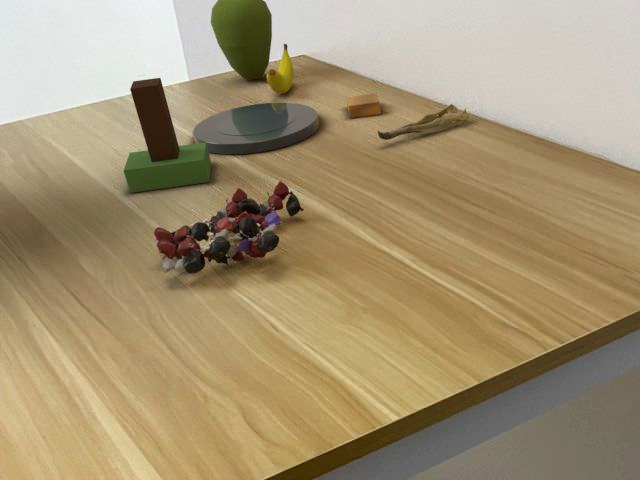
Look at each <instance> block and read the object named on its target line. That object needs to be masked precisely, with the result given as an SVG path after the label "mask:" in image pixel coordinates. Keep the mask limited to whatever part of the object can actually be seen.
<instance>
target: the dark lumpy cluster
mask: <svg viewBox="0 0 640 480" xmlns="http://www.w3.org/2000/svg"><path fill="white" fill-rule="evenodd" d="M266 194H267V197H266V198H264V199H263V200H262V201H261V203H258V202H257V201H256V200H254V199H252V198H248V194H247V193H246V191H244V190H243V189H242V188H240V187H238V188H236V191H235V192H234V193H233V194H232V196H231V201H228V198H225V199H224V201H225V202H226V203H225V205H224V206H222V207H221V209H220V210H217V212H216V215H212V216H211V217H210V218H207V217H205V218H204V220H203V221H197V222H195V223H191V224H190V225H187V224H184V225H182V226H180V228H178V229H176V230H174V231H173V232H172V231H169V230H168V229H166V228H164V227H161V226H157V227H155V228H154V231H153V235H154V237H155V240H156V241H157V243H156V248H157V250H158V256H159V259H161V260H162V266H161V269H162V272H163V273H165V274H167V273H169V272H170V271H171V270H172V269H175V271H177V272H181V273H187V274H198V273H200V272H202V271H203V270H204V269H205V267H206V259H207V261H208V263H212V261H214V262H215V263H216V264H224V265H227V266H229V262H232V261H233V262H239V263H240V262H244V261H246V260H245V259H246V258H245V255H246V256H248V257H249V258H252V259H257V258H261V259H262V258H264V257H266V256H267V254H268V253H271V252H273V251H275V249H276V248H277V247H278V245H279V243H280V236H279V234H276V233H277V229H278V228H277V226H282V224H283V223H282V218H281V216H280V215H279V214H278V213H277V211H281V210H283V209H284V203H283V201H284V200H286V198H287V196H288V195H289V197H288V199H287V200H286V203H285V209H286V212H287V213H288V215H289V217H290V218H291V217H294V216H296V215H298V214H299V212H303V211H304V208H303V207H302V206H301V203H300V200H299V198H298V197H297V195H296V194H295V193H294V192H293V191H292V190H291V191H290V190H289V187H288V185H287V184H286V183H284V181H281V180H279V181H278V183H277V184H276V185H275V186H274V189H273V194H271V195H270V192H269V191H268V190H267V191H266ZM230 234H233V235H234V236H230ZM210 237H211V238H210ZM209 238H210V241H209ZM203 240H204V242H206V243H207V244H206V245H204V246H201V243H200V242H202V241H203ZM230 241H232V243H233V245H232V244H231V242H230ZM236 241H241V242H240V243H238V244H235V242H236ZM243 253H244V254H245V255H244V254H243ZM174 259H177V261H175V260H174Z"/></svg>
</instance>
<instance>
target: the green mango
mask: <svg viewBox="0 0 640 480" xmlns="http://www.w3.org/2000/svg"><path fill="white" fill-rule="evenodd" d="M270 10H271V9H270V8H269V6H268V5H267V2H266V1H265V0H217V1H216V2H215V4H214V5H213V6H212V7H211V15H210V25H211V27H212V31H213V33H214V36H215V39H216V42H217V44H218V47H219V48H220V50H221V51H222V53H223V55H224V57H225V59H226V60H227V62H228V64H229V66H230V67H231V69H233V71H234V72H236V74H237V75H239V77H241V78H242V79H243V80H247V81H249V80H256V79H262V78H264V75H265V73H266V71H267V68H268V67H269V63H270V56H271V48H272V40H273V39H272V37H273V22H272V21H273V20H272V19H273V18H272V17H273V16H272V12H271V11H270Z"/></svg>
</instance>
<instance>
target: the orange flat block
mask: <svg viewBox="0 0 640 480" xmlns="http://www.w3.org/2000/svg"><path fill="white" fill-rule="evenodd" d="M346 104H347V110H348V115H349V118H350V119H356V118H362V117H363V118H364V117H370V116H378V115H381V114H382V113H381V103H380V99H379V96H378V94H377V93H376V92H374V93H368V94H360V95H359V94H358V95H354V96H346Z"/></svg>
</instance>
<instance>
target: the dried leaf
mask: <svg viewBox="0 0 640 480" xmlns="http://www.w3.org/2000/svg"><path fill="white" fill-rule="evenodd" d="M457 112H458V108H457V106H455V105H454V104H449V105H448V106H447V107H445V108H443V109H442V110H439V111H436V112H433V113H428V114H425V115H423V117H422V118H420V119H419V120H416V121H415V122H410V123H407V124H405V125H402V126H399V127H397V128H393V129H391V130H388V131H385V132H381V131H379V130H377V135H378V138H380V139H381V140H384V141H388V140H389V141H390V140H391V139H394V138H396V137H400V136H403V135H406V134H407V135H409V134H412V133H413V134H414V133H436V132H437V133H438V132H441V131H443V130H445V129H447V128H451V127H454V126H456V125H457V124H459V123H460V122H467V121H468V120H469V119H470V115H469V114H468V113H467V109H466V108H464V110H463V111H462V112H461V113H458V114H457ZM449 113H450V114H456V115H454V116H451V117H445V118H444V117H443V116H445V115H446V114H447V115H448V114H449ZM453 121H454V122H453Z"/></svg>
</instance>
